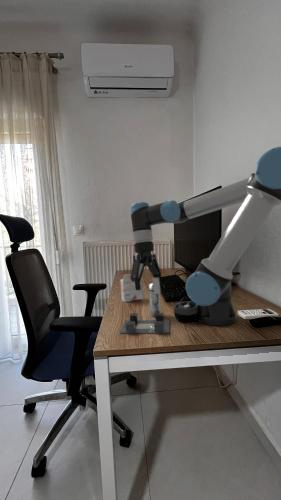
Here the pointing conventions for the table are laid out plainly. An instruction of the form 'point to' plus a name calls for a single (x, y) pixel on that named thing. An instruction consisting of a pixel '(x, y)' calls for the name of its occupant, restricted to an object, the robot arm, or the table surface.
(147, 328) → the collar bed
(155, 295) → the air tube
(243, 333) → the table surface
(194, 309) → the cpu cooler
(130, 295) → the ink cartridge box
